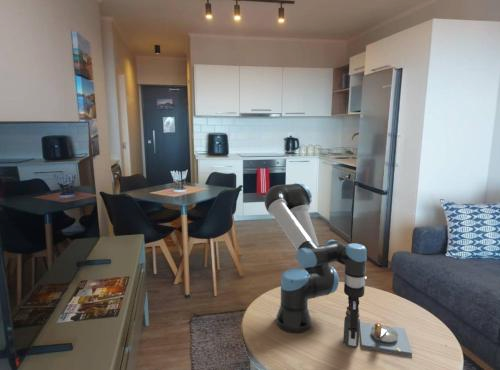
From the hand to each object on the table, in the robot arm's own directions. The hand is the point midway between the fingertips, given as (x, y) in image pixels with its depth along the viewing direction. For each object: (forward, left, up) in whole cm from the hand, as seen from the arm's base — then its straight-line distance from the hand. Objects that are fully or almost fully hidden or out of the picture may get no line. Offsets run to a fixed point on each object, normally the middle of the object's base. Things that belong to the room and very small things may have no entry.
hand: (351, 334), depth 132 cm
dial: (+13, +5, -2) cm, 14 cm away
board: (+13, +6, -4) cm, 15 cm away
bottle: (0, 0, -4) cm, 4 cm away
